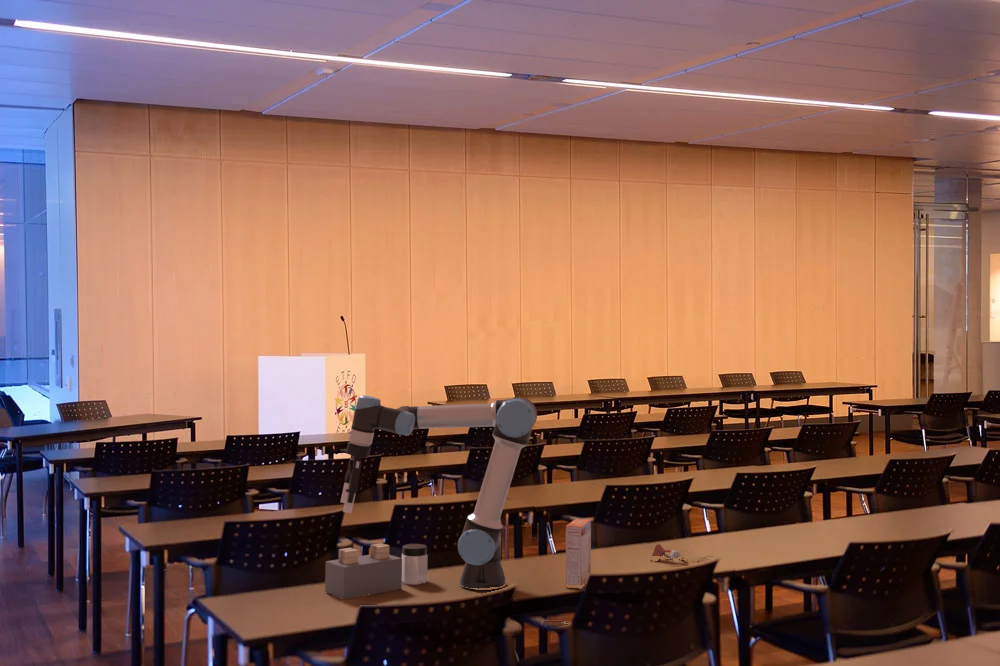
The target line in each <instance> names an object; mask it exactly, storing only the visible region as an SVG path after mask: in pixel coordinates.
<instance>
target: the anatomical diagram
mask: <svg viewBox="0 0 1000 666" xmlns="http://www.w3.org/2000/svg"><path fill="white" fill-rule="evenodd" d="M657 543H658V542H657ZM686 550H689V548H687V549H685V551H686ZM687 552H688V553H689V551H686V553H687ZM691 552H694V550H692V549H691ZM666 553H670V554H669V555H670V556H669V555H667V554H666ZM683 554H684V553H682V549H681V550H673V549H672V550H671V549H665V548H664V547H663V546H662V545H661V544H660V543H658V544H656V545H655V547H654V550H653V552H652V554H651V556H660V557H661V556H663V555H664V556H665V557H666V558H669V557H670V560H671V561H673V560H672V559H673V558H672V559H671V557H674V558H678V557H680V556H681V557H682V556H684V555H683ZM684 559H686V560H687V558H685V557H684Z"/></svg>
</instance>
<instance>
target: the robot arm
mask: <svg viewBox="0 0 1000 666" xmlns="http://www.w3.org/2000/svg"><path fill="white" fill-rule="evenodd" d="M381 403H382V402H381V399H380V398H379V397H378V398H377V397H375V396H370V395H365V394H364V395H359V397H358V399H357V401H356V404H355V408H354V413H353V418H352V422H351V423H352V424H351V427H350V430H351V431H350V430H349V431H347V433H348V435H349V437H348V442H347V445H346V450H345V452H346V454H348V455H349V456H350V458H349V459H348V465H347V469H346V473H345V476H344V484H343V488H342V494H341V497H340V503H342V504H344V505H343V510H342V512H343V513H347V514H352V513H353V509H354V504H355V500H356V499H355V498H356V494H357V492H358V487H359V482H360V476H361V475H360V474H361V471H362V466H363V462H362V461H361V460H362V458H363V459H364V458H365V459H367V458H369V457H370V453H371V446H372V444H373V439H374V435H375V430H381V431H386V432H391V433H393V434H397V435H399V436H400V435H402V436H410V435H411V434H412V433H413V430H419V429H423V430H424V429H447V428H448V429H449V428H451V429H455V428H482V427H483V428H484V427H487V428H488V427H493V431H492V437H493V439H494V443H493V447H492V450H491V454H490V457H489V461H488V464H487V467H486V470H485V474H484V477H483V479H482V484H481V486H480V490H479V494H478V497H477V500H476V504H475V507H474V511H473V512H472V513H470V514H468V515H467V517H466V521H465V523H464V526H463V530H462V532H461V535H460V537H459V539H458V541H457V551H458V554H459V556H460V558H461V559H462V560H463V561H464V562H465V564H464V566H463V570H462V572H461V576H460V579H459V580H460V581H459V586H460V585H462V586H464V587H468V588H478V589H479V588H490V587H500V586H503V585H504V584H505V583H506V576H505V573H504V569H503V567H502V566H503V565H502V563H501V562H502V561H501V557H502V556H501V555H502V529H503V525H502V520H501V517H502V513H503V509H504V506H505V503H506V501H507V496H508V493H509V490H510V487H511V484H512V480H513V477H514V475H515V474H514V473H515V469H516V467H517V463H518V460H519V457H520V454H521V451H522V449H523V448H525V447H527V446H528V443H529V441H530V439H531V438H530V437H531V435H532V431H533V427H534V426H535V424H536V422H537V419H538V412H537V408H536V406H535V404H534V402H532V401H531V400H530V399H528V398H526V397H522V396H516V397H513V398H506V399H499V400H495V401H493V402H492V403H471V404H468V403H467V404H444V405H442V404H441V405H421V406H420V405H419V406H409V405H404V406H400V407H397V408H393V407H388V406H384V405H381ZM506 584H507V583H506Z"/></svg>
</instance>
